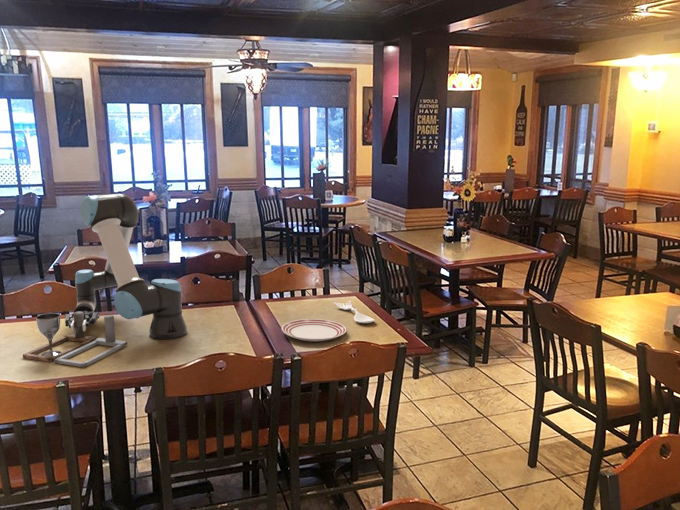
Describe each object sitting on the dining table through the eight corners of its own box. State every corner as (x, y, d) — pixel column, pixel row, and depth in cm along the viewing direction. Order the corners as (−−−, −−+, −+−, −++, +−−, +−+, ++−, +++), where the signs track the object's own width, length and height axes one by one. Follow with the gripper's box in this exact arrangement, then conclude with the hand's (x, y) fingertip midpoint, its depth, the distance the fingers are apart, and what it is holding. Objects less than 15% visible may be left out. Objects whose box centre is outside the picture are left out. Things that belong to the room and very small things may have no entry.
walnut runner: (97, 340, 235) (95, 313, 233) (51, 362, 213) (48, 332, 210) (70, 336, 239) (68, 309, 237) (22, 357, 216) (19, 328, 214)
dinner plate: (316, 320, 267) (316, 313, 266) (359, 335, 248) (359, 328, 247) (268, 334, 248) (268, 326, 247) (311, 351, 229) (311, 343, 228)
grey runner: (127, 344, 231) (125, 317, 229) (84, 367, 208) (81, 336, 206) (100, 341, 235) (98, 313, 233) (54, 362, 212) (51, 332, 210)
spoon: (350, 306, 291) (350, 299, 290) (378, 325, 262) (378, 318, 261) (333, 307, 287) (333, 301, 287) (359, 327, 258) (360, 320, 258)
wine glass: (47, 359, 216) (44, 320, 213) (35, 354, 220) (31, 316, 217) (67, 352, 222) (64, 315, 219) (55, 348, 226) (51, 311, 223)
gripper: (105, 318, 254) (101, 335, 232) (63, 321, 249) (55, 339, 227) (104, 301, 253) (100, 317, 231) (62, 304, 248) (53, 320, 226)
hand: (77, 328), depth 229 cm, fingers closed on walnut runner, 4 cm apart
